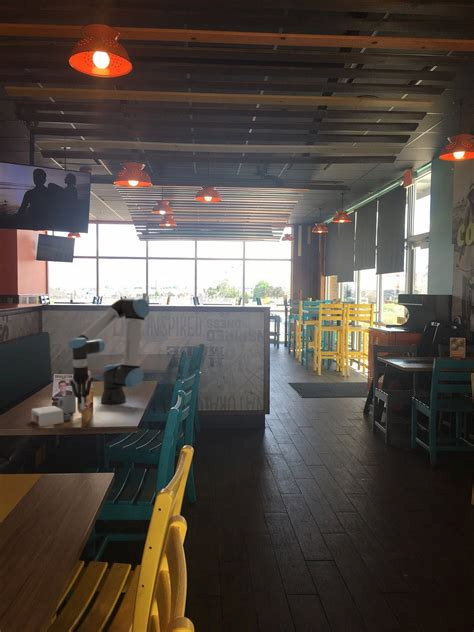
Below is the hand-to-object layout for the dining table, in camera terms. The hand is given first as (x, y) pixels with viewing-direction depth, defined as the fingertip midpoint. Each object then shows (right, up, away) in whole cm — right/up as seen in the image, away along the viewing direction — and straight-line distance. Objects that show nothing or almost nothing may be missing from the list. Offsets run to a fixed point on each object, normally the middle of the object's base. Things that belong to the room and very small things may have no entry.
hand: (82, 409), depth 285 cm
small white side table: (-15, -5, -12) cm, 20 cm away
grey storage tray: (-12, -5, -9) cm, 16 cm away
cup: (-12, -4, +11) cm, 17 cm away
